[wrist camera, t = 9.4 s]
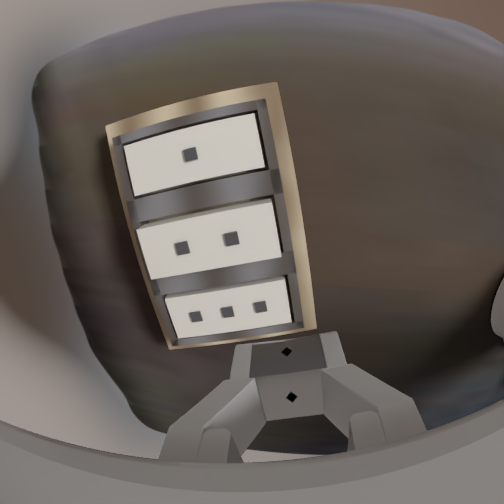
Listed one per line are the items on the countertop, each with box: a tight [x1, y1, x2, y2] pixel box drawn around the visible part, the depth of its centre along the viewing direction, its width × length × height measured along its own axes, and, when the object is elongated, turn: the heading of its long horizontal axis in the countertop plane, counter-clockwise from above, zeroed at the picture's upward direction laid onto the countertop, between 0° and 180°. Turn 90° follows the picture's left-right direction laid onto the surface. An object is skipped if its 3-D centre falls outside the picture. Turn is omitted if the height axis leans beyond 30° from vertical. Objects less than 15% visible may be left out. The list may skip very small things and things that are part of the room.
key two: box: [136, 198, 282, 280], centre depth 25 cm, size 11×4×2 cm, turn 101°
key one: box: [124, 113, 265, 196], centre depth 24 cm, size 11×4×2 cm, turn 101°
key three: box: [165, 275, 292, 338], centre depth 28 cm, size 11×4×2 cm, turn 101°
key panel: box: [106, 82, 317, 349], centre depth 28 cm, size 16×24×4 cm, turn 11°
